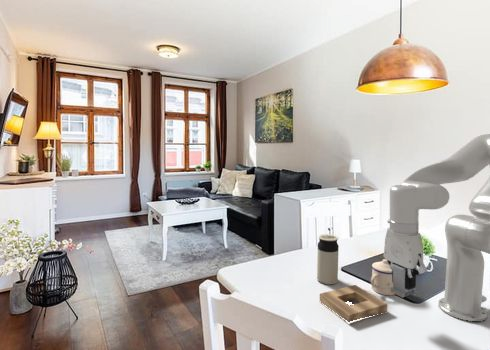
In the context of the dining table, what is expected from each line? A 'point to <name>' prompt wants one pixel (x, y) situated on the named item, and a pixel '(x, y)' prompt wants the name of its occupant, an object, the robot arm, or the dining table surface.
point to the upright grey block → (400, 281)
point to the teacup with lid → (382, 278)
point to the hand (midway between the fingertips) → (403, 284)
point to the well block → (360, 298)
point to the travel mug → (327, 259)
